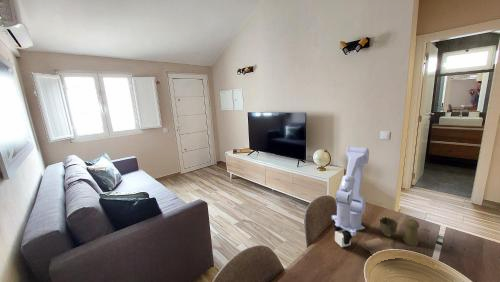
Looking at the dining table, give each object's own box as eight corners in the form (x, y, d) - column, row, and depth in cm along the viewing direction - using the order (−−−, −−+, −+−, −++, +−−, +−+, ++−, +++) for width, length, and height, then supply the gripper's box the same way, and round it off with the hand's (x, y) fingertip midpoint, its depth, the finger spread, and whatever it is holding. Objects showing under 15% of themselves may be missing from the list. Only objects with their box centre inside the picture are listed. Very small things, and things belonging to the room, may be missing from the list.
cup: (390, 242, 102) (392, 227, 100) (375, 234, 108) (376, 219, 106) (399, 236, 105) (400, 222, 103) (384, 229, 111) (385, 215, 110)
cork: (421, 246, 98) (423, 224, 96) (406, 245, 99) (408, 224, 97) (414, 237, 104) (416, 217, 101) (400, 236, 105) (402, 216, 103)
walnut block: (362, 247, 100) (362, 241, 99) (378, 243, 102) (378, 237, 101) (378, 261, 91) (378, 254, 91) (394, 256, 94) (395, 250, 93)
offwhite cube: (334, 240, 104) (335, 231, 103) (343, 238, 105) (343, 229, 104) (341, 247, 99) (342, 237, 98) (350, 244, 100) (351, 235, 99)
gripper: (326, 208, 105) (326, 233, 108) (347, 224, 91) (346, 252, 94) (338, 206, 107) (338, 230, 109) (360, 221, 93) (359, 248, 96)
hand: (342, 240), depth 102 cm, fingers closed on offwhite cube, 5 cm apart
